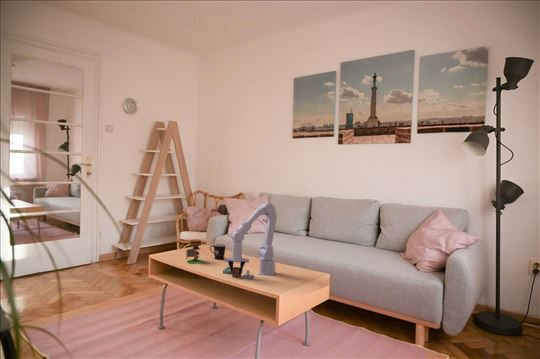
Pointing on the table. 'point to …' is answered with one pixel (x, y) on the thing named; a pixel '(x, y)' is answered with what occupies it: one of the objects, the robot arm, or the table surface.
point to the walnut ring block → (236, 272)
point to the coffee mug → (219, 251)
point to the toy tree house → (194, 252)
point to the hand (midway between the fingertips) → (236, 274)
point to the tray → (227, 270)
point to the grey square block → (247, 275)
